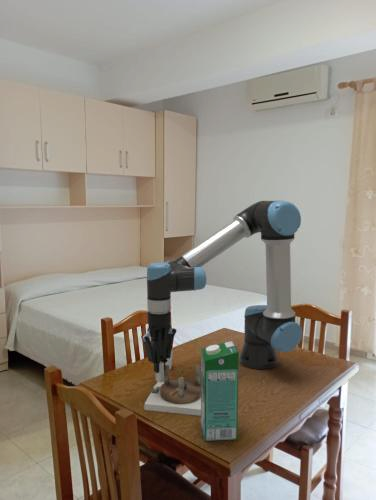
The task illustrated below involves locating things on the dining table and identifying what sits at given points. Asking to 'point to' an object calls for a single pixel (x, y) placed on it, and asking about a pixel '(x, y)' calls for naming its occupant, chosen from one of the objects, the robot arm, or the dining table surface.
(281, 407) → the dining table surface
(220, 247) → the robot arm
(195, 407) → the stand
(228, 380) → the milk carton
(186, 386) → the cam capstan
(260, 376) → the dining table surface
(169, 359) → the white tapered cup
